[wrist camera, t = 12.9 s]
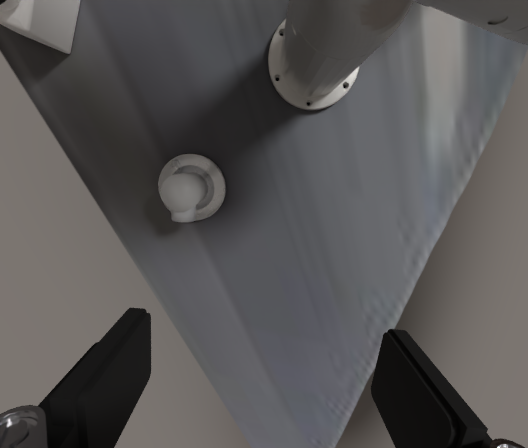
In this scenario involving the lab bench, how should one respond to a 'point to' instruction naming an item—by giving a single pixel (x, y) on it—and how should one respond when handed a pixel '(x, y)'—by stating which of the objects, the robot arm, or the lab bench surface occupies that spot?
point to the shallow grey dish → (207, 171)
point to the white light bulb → (184, 195)
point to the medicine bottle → (42, 20)
